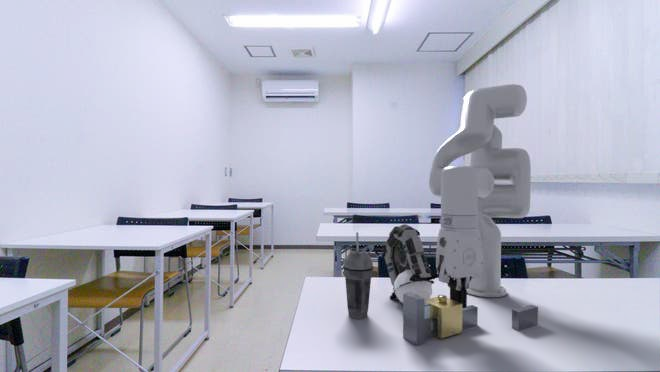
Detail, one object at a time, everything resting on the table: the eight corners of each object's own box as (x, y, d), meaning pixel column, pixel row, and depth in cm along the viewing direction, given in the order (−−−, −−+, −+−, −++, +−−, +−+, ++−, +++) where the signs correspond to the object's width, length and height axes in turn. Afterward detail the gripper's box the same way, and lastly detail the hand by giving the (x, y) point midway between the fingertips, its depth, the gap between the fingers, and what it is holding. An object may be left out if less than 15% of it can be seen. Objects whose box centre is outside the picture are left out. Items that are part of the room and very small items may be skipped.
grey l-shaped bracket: (403, 337, 69) (403, 293, 69) (467, 320, 78) (467, 281, 78) (416, 345, 65) (416, 299, 65) (482, 327, 74) (482, 286, 74)
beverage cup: (376, 311, 83) (376, 230, 83) (369, 323, 76) (370, 234, 76) (347, 308, 85) (348, 229, 85) (338, 319, 78) (339, 233, 78)
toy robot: (453, 293, 79) (424, 213, 91) (416, 297, 76) (391, 213, 88) (420, 315, 92) (398, 243, 105) (388, 319, 90) (369, 244, 102)
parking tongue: (511, 327, 74) (512, 309, 74) (531, 322, 77) (531, 304, 77) (518, 330, 73) (518, 312, 73) (537, 324, 76) (537, 306, 76)
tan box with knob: (421, 327, 72) (422, 294, 72) (442, 322, 75) (442, 290, 75) (441, 338, 68) (441, 302, 68) (462, 332, 70) (462, 298, 70)
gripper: (447, 226, 66) (446, 319, 67) (496, 222, 74) (495, 306, 74) (420, 222, 73) (420, 306, 73) (468, 219, 80) (467, 296, 80)
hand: (458, 306), depth 73 cm, fingers closed
